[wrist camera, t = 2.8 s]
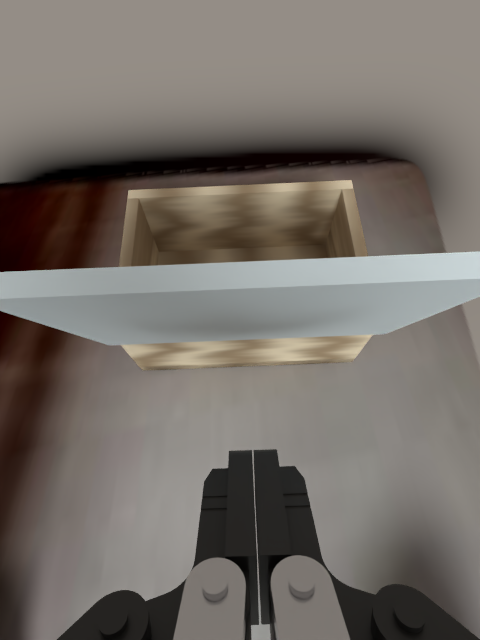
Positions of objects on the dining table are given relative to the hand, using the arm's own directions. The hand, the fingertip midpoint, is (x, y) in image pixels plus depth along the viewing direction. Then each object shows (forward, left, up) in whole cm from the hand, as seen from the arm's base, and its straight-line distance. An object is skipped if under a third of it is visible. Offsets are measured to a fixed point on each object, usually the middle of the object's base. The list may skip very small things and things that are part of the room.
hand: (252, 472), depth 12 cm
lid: (-1, +9, -5) cm, 10 cm away
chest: (-3, +17, -21) cm, 28 cm away
